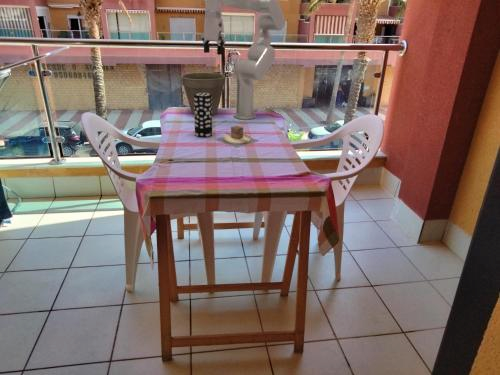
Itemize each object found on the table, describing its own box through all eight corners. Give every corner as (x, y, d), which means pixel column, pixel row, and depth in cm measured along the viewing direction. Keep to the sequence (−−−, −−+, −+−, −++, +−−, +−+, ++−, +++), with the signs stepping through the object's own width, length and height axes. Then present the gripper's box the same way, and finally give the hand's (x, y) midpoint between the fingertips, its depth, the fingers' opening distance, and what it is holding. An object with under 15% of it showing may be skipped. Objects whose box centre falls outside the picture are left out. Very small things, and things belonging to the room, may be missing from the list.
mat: (237, 134, 184) (237, 133, 184) (259, 141, 175) (259, 140, 174) (214, 140, 174) (214, 139, 174) (236, 148, 165) (236, 147, 164)
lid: (237, 134, 182) (237, 121, 180) (256, 140, 174) (257, 127, 172) (217, 139, 174) (217, 126, 171) (236, 146, 166) (236, 133, 163)
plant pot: (174, 115, 212) (172, 76, 203) (194, 106, 233) (193, 70, 224) (214, 120, 205) (214, 80, 195) (231, 111, 226) (232, 74, 217)
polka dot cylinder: (213, 134, 183) (213, 93, 174) (210, 139, 176) (210, 96, 167) (197, 132, 184) (196, 92, 175) (193, 138, 176) (191, 95, 168)
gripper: (231, 16, 172) (231, 55, 179) (207, 14, 183) (207, 51, 190) (219, 15, 167) (219, 55, 174) (195, 14, 178) (196, 52, 185)
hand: (213, 53), depth 182 cm, fingers open, 9 cm apart
